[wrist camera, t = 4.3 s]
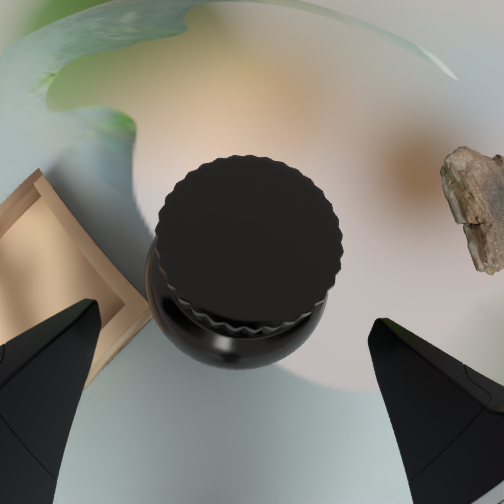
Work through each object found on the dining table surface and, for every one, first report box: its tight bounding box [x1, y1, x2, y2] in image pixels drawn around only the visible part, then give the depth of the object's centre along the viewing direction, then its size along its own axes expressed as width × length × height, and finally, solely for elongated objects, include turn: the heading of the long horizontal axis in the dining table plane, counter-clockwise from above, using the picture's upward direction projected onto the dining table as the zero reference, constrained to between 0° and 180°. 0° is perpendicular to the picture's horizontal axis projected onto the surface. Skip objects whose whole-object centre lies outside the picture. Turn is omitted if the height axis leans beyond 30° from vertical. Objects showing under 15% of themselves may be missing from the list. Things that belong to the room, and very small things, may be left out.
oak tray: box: [0, 168, 153, 390], centre depth 14 cm, size 16×14×2 cm
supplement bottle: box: [145, 155, 344, 370], centre depth 13 cm, size 7×7×12 cm
